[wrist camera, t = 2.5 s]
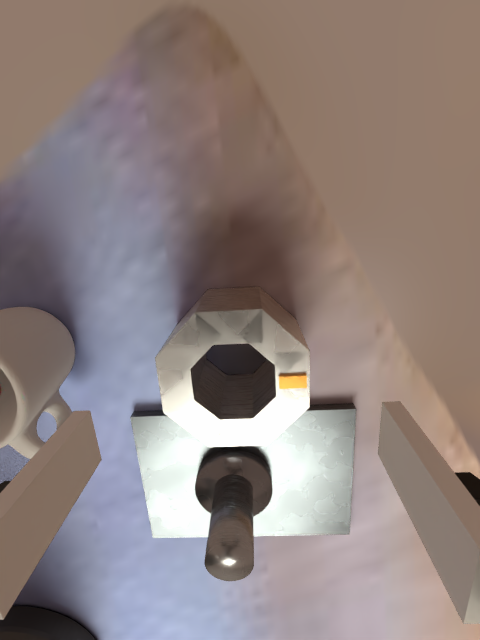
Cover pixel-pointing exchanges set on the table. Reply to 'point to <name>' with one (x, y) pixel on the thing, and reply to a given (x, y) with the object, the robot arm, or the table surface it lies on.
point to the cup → (31, 375)
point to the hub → (235, 390)
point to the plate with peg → (247, 484)
